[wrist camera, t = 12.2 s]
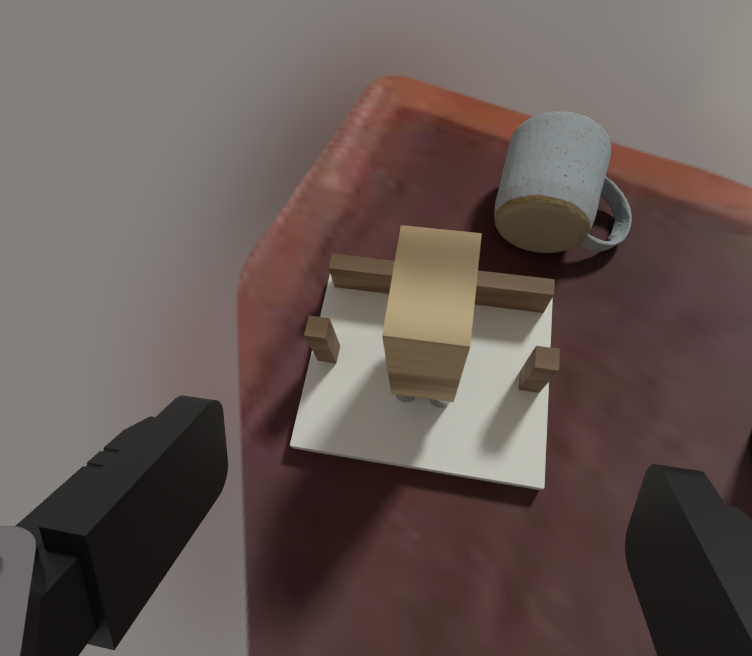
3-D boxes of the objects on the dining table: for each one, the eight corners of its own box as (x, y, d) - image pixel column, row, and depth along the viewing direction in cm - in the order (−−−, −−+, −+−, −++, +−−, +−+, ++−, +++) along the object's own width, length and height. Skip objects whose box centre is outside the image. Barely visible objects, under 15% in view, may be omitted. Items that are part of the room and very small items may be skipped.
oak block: (453, 402, 31) (470, 346, 22) (391, 393, 32) (381, 335, 23) (462, 316, 34) (481, 233, 24) (404, 309, 34) (401, 225, 25)
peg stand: (539, 490, 33) (544, 488, 32) (293, 448, 35) (289, 445, 34) (548, 301, 38) (552, 294, 37) (333, 275, 40) (331, 268, 39)
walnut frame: (539, 392, 34) (558, 370, 30) (317, 360, 36) (303, 335, 32) (544, 298, 37) (562, 264, 32) (337, 273, 39) (327, 238, 34)
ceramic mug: (483, 248, 40) (499, 187, 33) (502, 169, 43) (521, 98, 36) (617, 277, 39) (665, 220, 32) (628, 194, 42) (674, 124, 34)
